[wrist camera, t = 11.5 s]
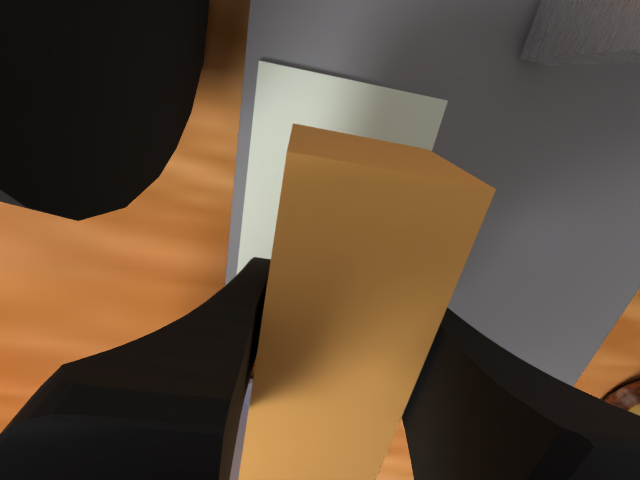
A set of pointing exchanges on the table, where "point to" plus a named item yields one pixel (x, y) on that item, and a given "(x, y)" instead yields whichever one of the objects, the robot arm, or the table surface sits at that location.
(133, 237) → the table surface
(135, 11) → the black and grey cylinder
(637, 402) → the sauce bottle
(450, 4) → the board
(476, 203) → the block
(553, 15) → the clasp
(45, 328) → the table surface
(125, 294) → the table surface
